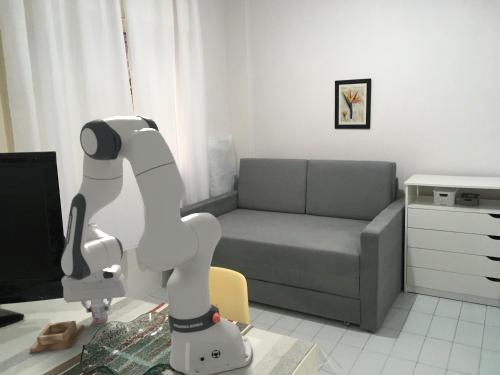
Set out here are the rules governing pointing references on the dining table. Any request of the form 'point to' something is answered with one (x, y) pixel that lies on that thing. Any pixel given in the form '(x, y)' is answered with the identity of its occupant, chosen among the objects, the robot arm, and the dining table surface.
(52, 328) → the brown square wooden holder
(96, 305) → the pill bottle
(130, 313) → the dining table surface
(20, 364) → the dining table surface
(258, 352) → the dining table surface
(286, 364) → the dining table surface
